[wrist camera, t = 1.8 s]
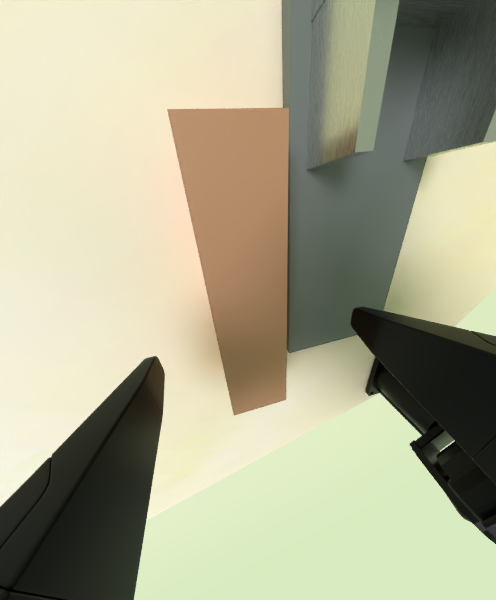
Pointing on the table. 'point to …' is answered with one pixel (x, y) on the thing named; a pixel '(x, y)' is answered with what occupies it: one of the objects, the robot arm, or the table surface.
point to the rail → (241, 238)
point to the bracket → (373, 69)
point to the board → (346, 192)
